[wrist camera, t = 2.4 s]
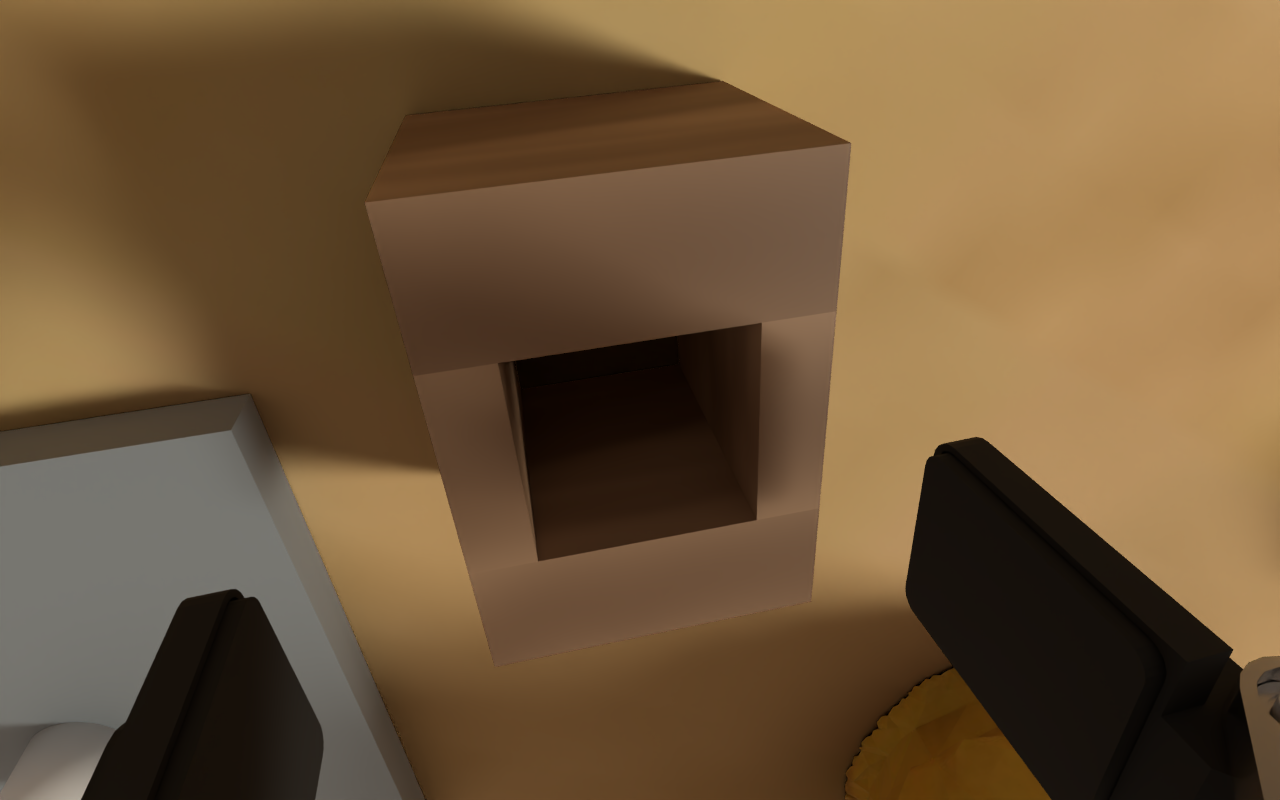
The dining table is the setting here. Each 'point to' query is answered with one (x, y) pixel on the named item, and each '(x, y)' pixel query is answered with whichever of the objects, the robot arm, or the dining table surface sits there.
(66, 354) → the dining table surface
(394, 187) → the block
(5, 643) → the base plate
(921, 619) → the robot arm
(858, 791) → the pitcher
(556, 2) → the dining table surface
